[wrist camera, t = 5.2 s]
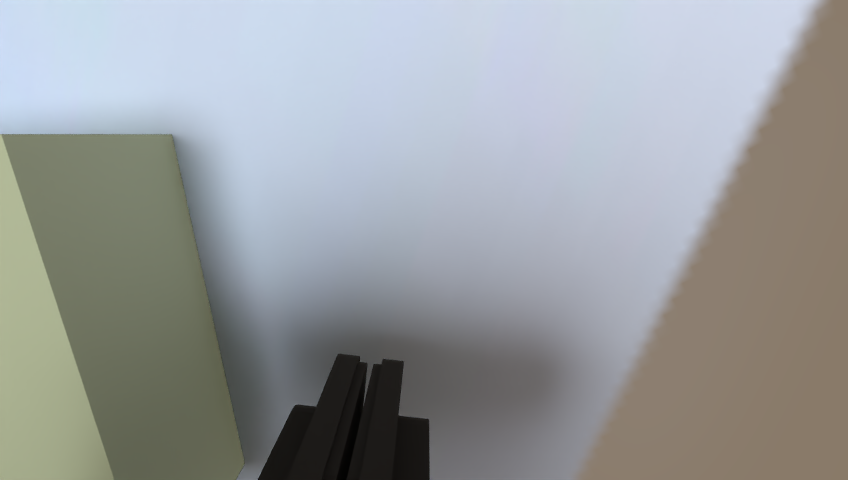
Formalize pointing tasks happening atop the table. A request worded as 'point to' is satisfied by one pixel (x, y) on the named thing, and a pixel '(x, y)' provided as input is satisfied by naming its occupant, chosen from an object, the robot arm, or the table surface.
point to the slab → (106, 317)
